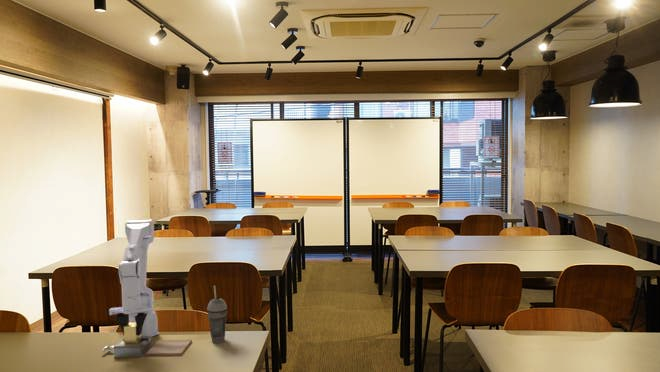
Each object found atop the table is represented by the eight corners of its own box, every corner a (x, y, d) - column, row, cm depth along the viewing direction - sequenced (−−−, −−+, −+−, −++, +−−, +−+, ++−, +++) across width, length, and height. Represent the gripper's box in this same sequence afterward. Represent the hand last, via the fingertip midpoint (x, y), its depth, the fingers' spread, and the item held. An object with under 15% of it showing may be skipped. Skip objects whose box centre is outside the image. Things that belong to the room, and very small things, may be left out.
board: (158, 342, 171) (158, 340, 171) (191, 341, 171) (191, 339, 171) (145, 356, 159) (145, 353, 159) (181, 355, 159) (181, 353, 159)
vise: (110, 347, 167) (110, 336, 167) (151, 346, 167) (150, 335, 167) (98, 357, 158) (97, 346, 158) (141, 356, 158) (140, 345, 158)
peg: (129, 345, 164) (128, 322, 164) (141, 345, 164) (140, 322, 164) (124, 349, 160) (123, 326, 160) (136, 349, 160) (135, 326, 160)
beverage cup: (216, 346, 166) (214, 290, 165) (203, 341, 171) (201, 287, 170) (232, 339, 172) (231, 285, 171) (219, 335, 176) (217, 282, 175)
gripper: (104, 299, 158) (106, 339, 158) (147, 298, 157) (149, 338, 158) (113, 293, 165) (115, 331, 165) (155, 292, 165) (156, 331, 165)
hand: (132, 334), depth 162 cm, fingers closed on peg, 4 cm apart
